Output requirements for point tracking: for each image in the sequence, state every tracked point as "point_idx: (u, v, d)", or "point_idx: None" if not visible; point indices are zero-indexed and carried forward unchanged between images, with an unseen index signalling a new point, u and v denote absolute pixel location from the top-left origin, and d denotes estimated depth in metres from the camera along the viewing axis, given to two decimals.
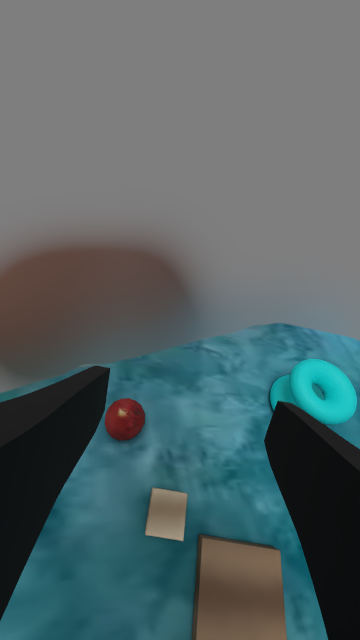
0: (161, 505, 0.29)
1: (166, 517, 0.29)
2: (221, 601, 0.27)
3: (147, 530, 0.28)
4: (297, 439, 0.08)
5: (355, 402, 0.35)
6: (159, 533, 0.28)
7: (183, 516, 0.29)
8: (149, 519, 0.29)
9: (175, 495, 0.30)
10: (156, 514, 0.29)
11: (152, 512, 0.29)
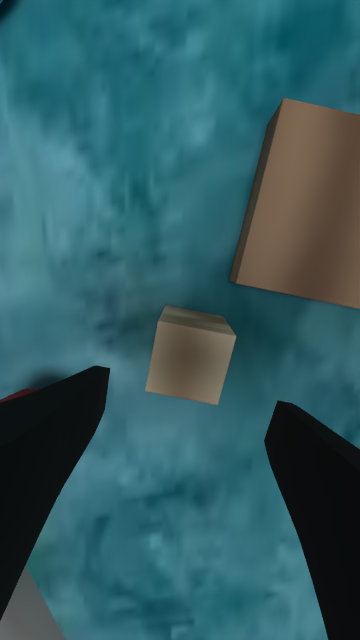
0: (175, 376, 0.14)
1: (195, 366, 0.14)
2: (329, 258, 0.15)
3: (211, 401, 0.14)
4: (298, 439, 0.08)
5: None
6: (218, 380, 0.14)
7: (197, 332, 0.13)
8: (195, 397, 0.14)
9: (160, 346, 0.14)
10: (189, 384, 0.14)
11: (185, 392, 0.14)
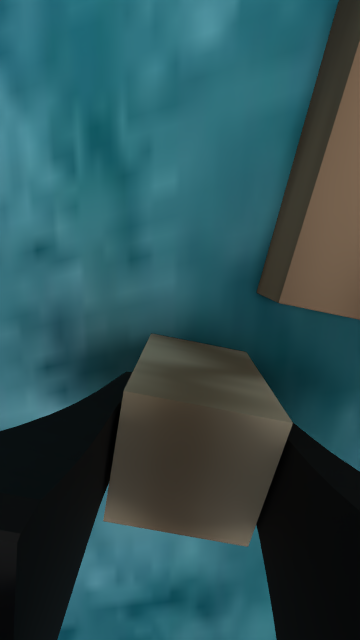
0: (163, 496, 0.07)
1: (203, 480, 0.07)
2: None
3: (236, 540, 0.07)
4: None
5: None
6: (252, 504, 0.07)
7: (208, 415, 0.06)
8: (204, 533, 0.07)
9: (130, 440, 0.06)
10: (192, 511, 0.07)
11: (183, 525, 0.07)
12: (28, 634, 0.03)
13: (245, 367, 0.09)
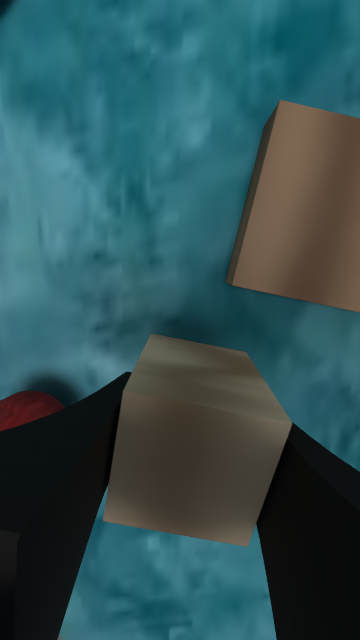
0: (163, 496, 0.07)
1: (203, 479, 0.07)
2: (324, 260, 0.15)
3: (236, 540, 0.07)
4: None
5: None
6: (251, 504, 0.07)
7: (208, 415, 0.06)
8: (203, 533, 0.07)
9: (130, 441, 0.06)
10: (192, 511, 0.07)
11: (183, 524, 0.07)
12: (28, 634, 0.03)
13: (245, 367, 0.09)
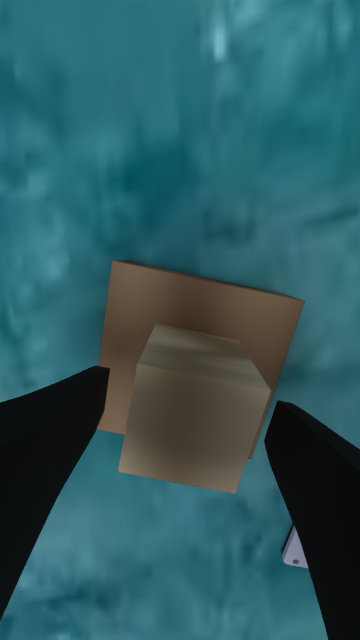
0: (167, 450, 0.09)
1: (200, 437, 0.08)
2: None
3: (225, 488, 0.09)
4: (298, 439, 0.08)
5: None
6: (238, 458, 0.09)
7: (204, 384, 0.08)
8: (199, 482, 0.09)
9: (142, 404, 0.08)
10: (190, 463, 0.09)
11: (183, 475, 0.09)
12: None
13: (236, 351, 0.11)
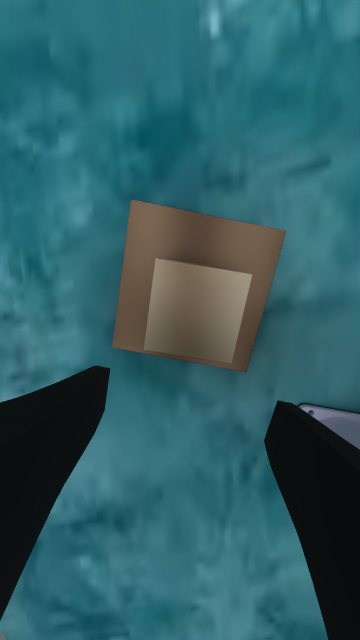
0: (179, 329, 0.12)
1: (202, 316, 0.11)
2: None
3: (224, 359, 0.12)
4: (298, 439, 0.08)
5: None
6: (232, 332, 0.12)
7: (204, 272, 0.11)
8: (204, 355, 0.12)
9: (160, 291, 0.11)
10: (197, 339, 0.12)
11: (192, 349, 0.12)
12: None
13: None
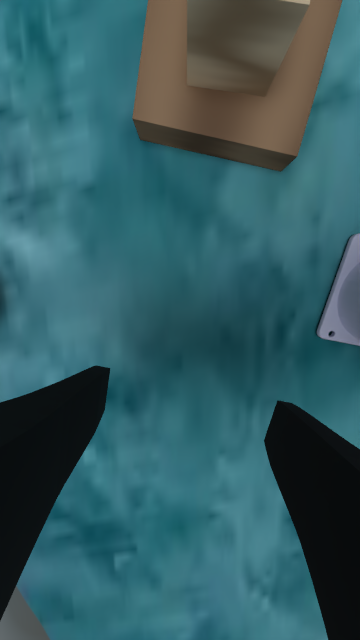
0: None
1: None
2: None
3: None
4: (298, 439, 0.08)
5: None
6: None
7: None
8: None
9: None
10: None
11: None
12: None
13: None
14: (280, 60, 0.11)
